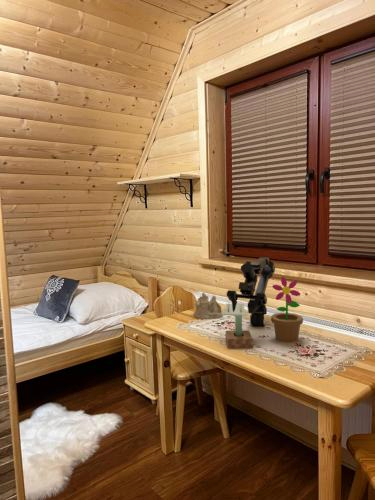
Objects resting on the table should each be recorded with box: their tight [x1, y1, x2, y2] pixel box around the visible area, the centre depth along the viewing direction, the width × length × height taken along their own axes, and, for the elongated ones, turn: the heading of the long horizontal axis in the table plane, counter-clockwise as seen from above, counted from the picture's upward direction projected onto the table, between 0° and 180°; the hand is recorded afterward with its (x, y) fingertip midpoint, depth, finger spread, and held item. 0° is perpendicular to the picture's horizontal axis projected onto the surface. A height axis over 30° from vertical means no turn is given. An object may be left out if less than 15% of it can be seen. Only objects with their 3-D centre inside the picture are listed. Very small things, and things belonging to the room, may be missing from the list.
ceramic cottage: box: [193, 291, 224, 320], centre depth 213 cm, size 16×16×15 cm
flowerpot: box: [270, 276, 304, 343], centre depth 171 cm, size 14×14×30 cm
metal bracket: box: [222, 302, 249, 316], centre depth 218 cm, size 14×6×15 cm
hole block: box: [225, 329, 254, 349], centre depth 168 cm, size 11×11×4 cm
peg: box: [234, 314, 243, 336], centre depth 167 cm, size 3×3×13 cm
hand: (242, 312), depth 171 cm, fingers open, 9 cm apart
